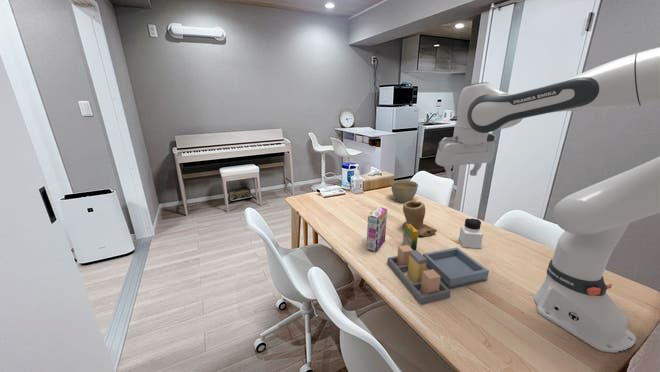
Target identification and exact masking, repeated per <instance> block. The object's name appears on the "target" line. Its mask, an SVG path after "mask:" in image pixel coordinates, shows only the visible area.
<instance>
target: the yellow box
mask: <svg viewBox="0 0 660 372" xmlns="http://www.w3.org/2000/svg"><path fill="white" fill-rule="evenodd" d="M426 263H427V259H426V258H425V257H424V256H423V253H421V252H420V251H419V250H418V249H416V250H415V251H410V254H409V265H408V272H407V276H408V278H410V279H411V280H412V282H413V283H416V282H421V281H422V272H423V271H426Z"/></svg>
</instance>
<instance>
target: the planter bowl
mask: <svg viewBox="0 0 660 372" xmlns="http://www.w3.org/2000/svg"><path fill="white" fill-rule="evenodd" d="M390 185H391V192H392V194H393V197H394V198H395V201H397V202H399V203H403V204H405V203H406V202H408V201H413V198H414V197H415V195H416V194H417V192H418V187H419V184H418V183H417V182H415V181H412V180H406V179H399V180H394V181H392V182H391V184H390Z"/></svg>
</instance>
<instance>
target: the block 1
mask: <svg viewBox="0 0 660 372" xmlns="http://www.w3.org/2000/svg"><path fill="white" fill-rule="evenodd" d="M397 249H398V250H397V256H398V258H397V263H396V265H397V266H401V265H406V264H409V254H410V251H413V250H412V249H411V248H410V247H409V246H408V245H399V246H397Z"/></svg>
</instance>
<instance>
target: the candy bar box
mask: <svg viewBox="0 0 660 372" xmlns="http://www.w3.org/2000/svg"><path fill="white" fill-rule="evenodd" d="M387 218H388V208H385V207H380V206H377V207H376V208H375V209H374V210H373V211H372V212H371V211H370V213H369V214H368V216H367V229H366V230H367V233H366V250H368V251H371V252H374V253H377V252H378V251H379V249H380V248H381V247H382V246H383V244H384V243H385V242H386V232H387Z"/></svg>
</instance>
